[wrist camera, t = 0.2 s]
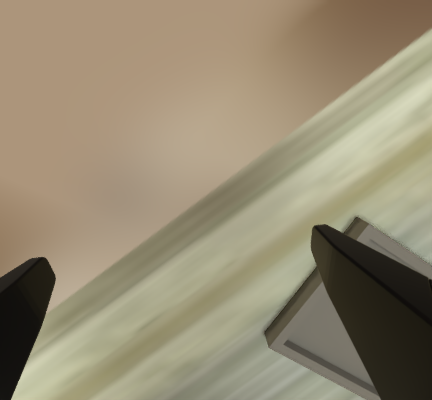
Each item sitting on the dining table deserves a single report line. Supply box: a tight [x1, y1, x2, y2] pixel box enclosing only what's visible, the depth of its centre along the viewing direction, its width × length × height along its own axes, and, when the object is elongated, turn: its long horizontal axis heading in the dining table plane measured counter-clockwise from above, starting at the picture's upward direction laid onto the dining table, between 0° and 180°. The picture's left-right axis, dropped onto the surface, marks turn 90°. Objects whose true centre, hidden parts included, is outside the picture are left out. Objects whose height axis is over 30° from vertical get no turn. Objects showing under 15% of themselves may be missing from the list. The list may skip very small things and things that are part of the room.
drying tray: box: [265, 217, 432, 400], centre depth 28 cm, size 15×16×2 cm
